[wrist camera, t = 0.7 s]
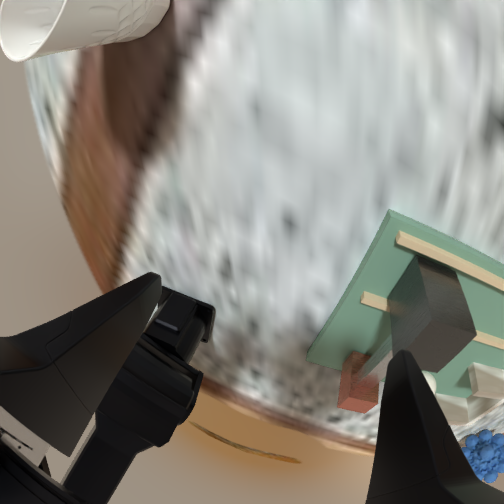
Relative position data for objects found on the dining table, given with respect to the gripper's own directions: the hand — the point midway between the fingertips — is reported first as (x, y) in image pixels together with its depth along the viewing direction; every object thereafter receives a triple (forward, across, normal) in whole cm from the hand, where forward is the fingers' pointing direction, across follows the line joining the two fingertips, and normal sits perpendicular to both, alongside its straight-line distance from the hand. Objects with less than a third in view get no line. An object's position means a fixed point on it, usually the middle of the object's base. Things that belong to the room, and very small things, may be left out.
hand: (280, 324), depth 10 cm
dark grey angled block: (+11, -10, +9) cm, 18 cm away
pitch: (+13, -18, +9) cm, 24 cm away
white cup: (+13, +16, -12) cm, 24 cm away
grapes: (+13, -46, +30) cm, 57 cm away
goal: (+13, -26, +16) cm, 33 cm away
